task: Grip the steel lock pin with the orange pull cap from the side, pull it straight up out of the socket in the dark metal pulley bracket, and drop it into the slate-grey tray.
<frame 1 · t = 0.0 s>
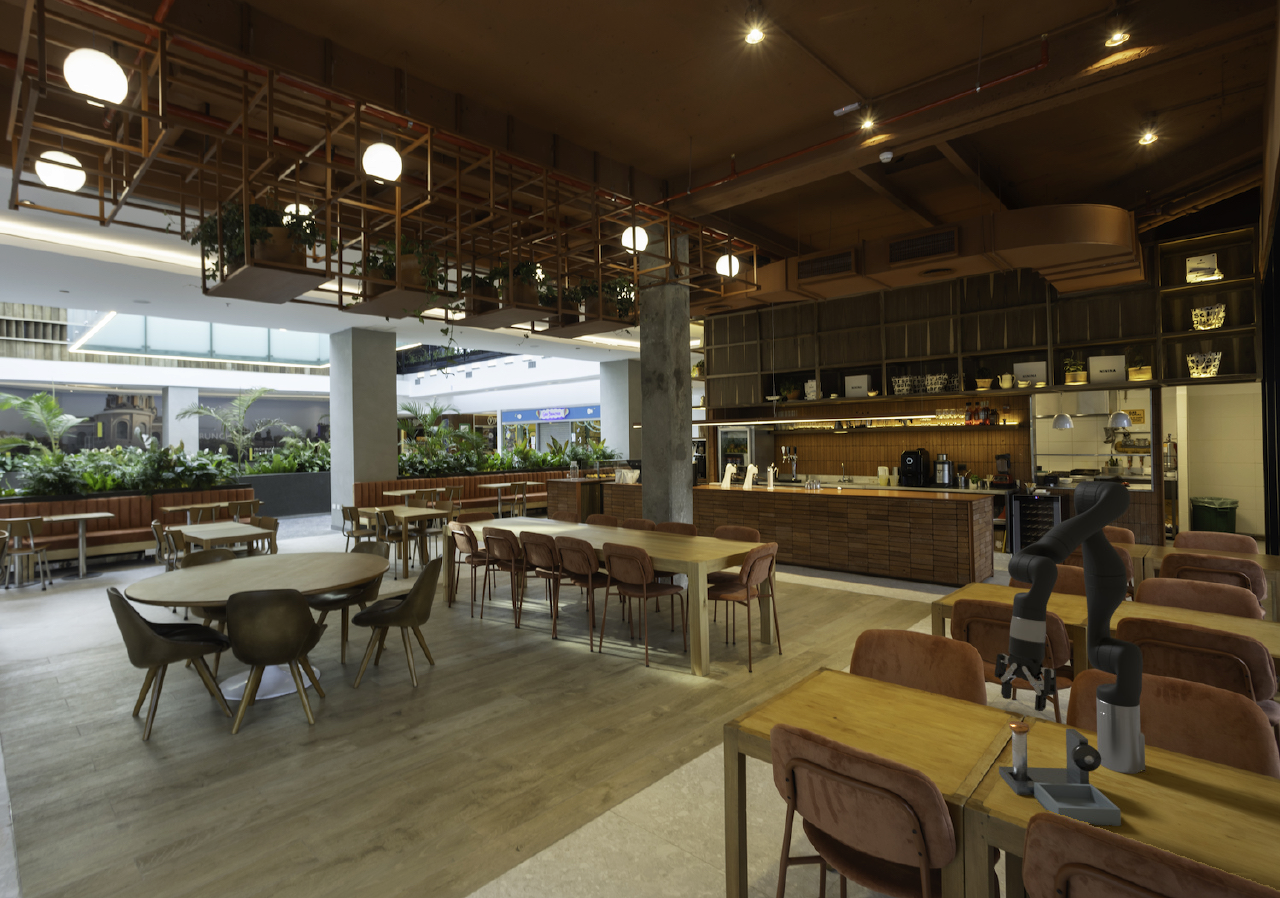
hand: (1022, 704, 158), 22 cm above the table, tool pointing down, fingers open, 8 cm apart
lock pin: (1020, 784, 163), resting in pulley bracket
tray: (1075, 811, 151), on the table
pulley bracket: (1045, 785, 162), on the table
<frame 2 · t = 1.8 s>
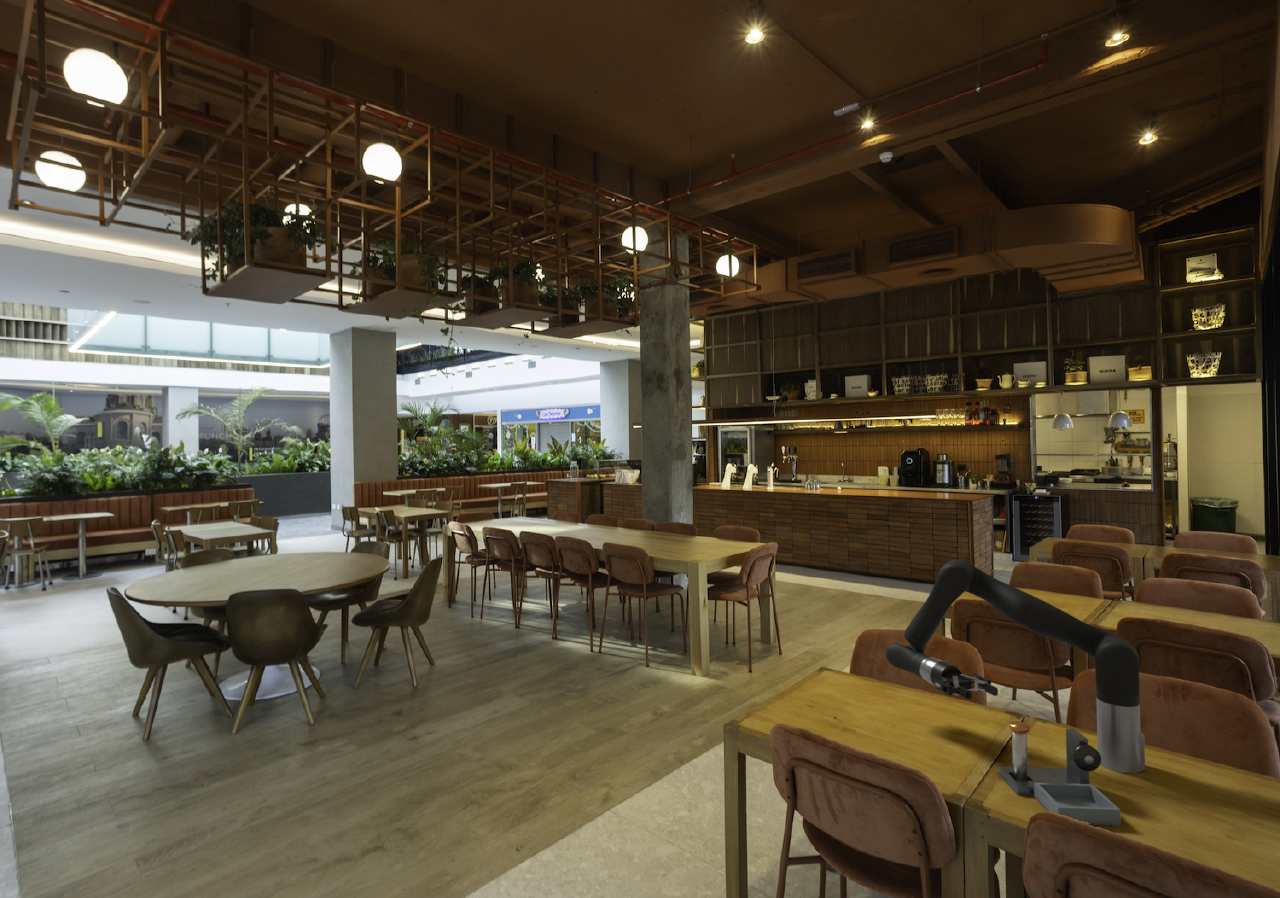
hand: (983, 694, 174), 19 cm above the table, tool horizontal, fingers open, 8 cm apart
nothing on the table moved.
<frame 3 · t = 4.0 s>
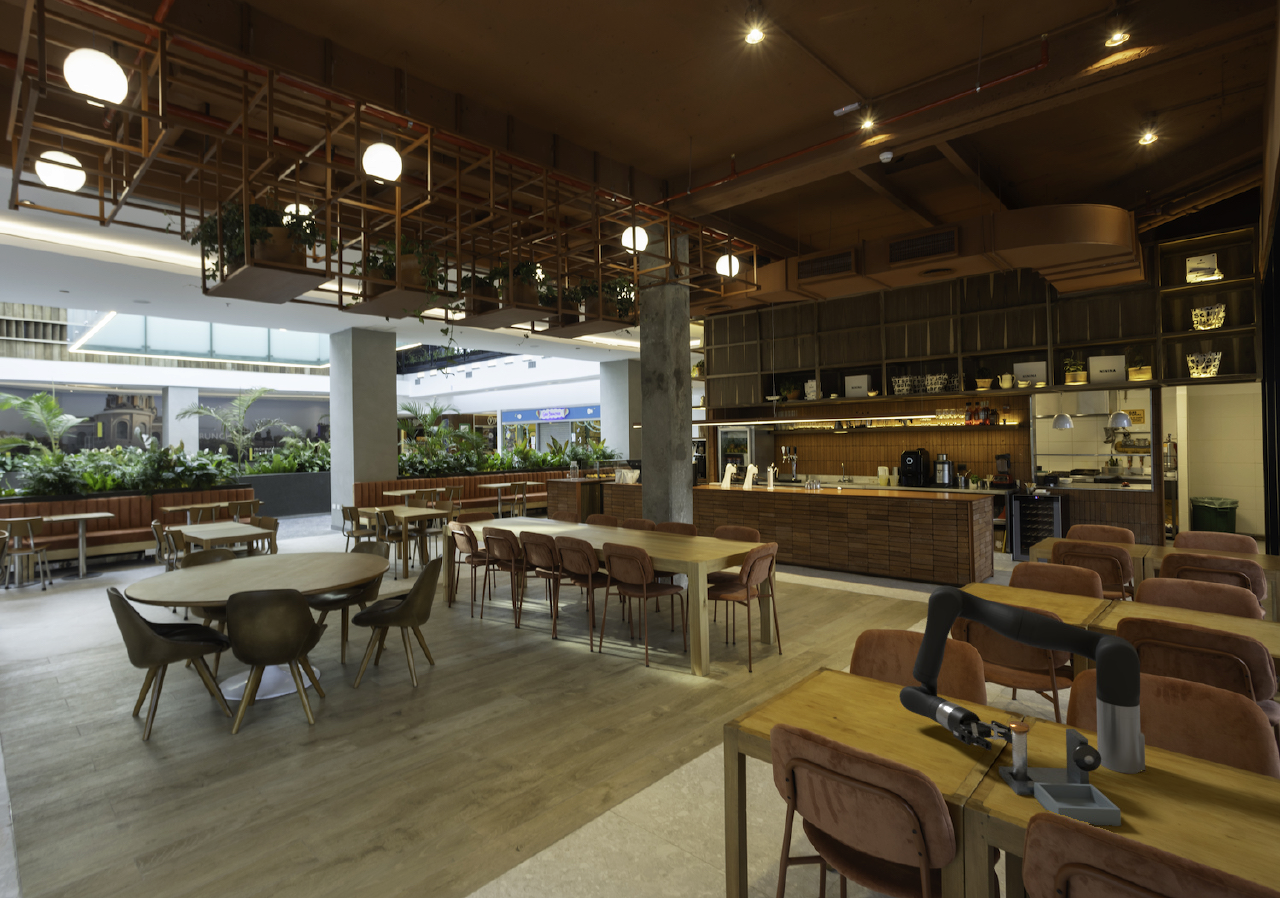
hand: (1004, 744, 168), 8 cm above the table, tool horizontal, fingers open, 8 cm apart
nothing on the table moved.
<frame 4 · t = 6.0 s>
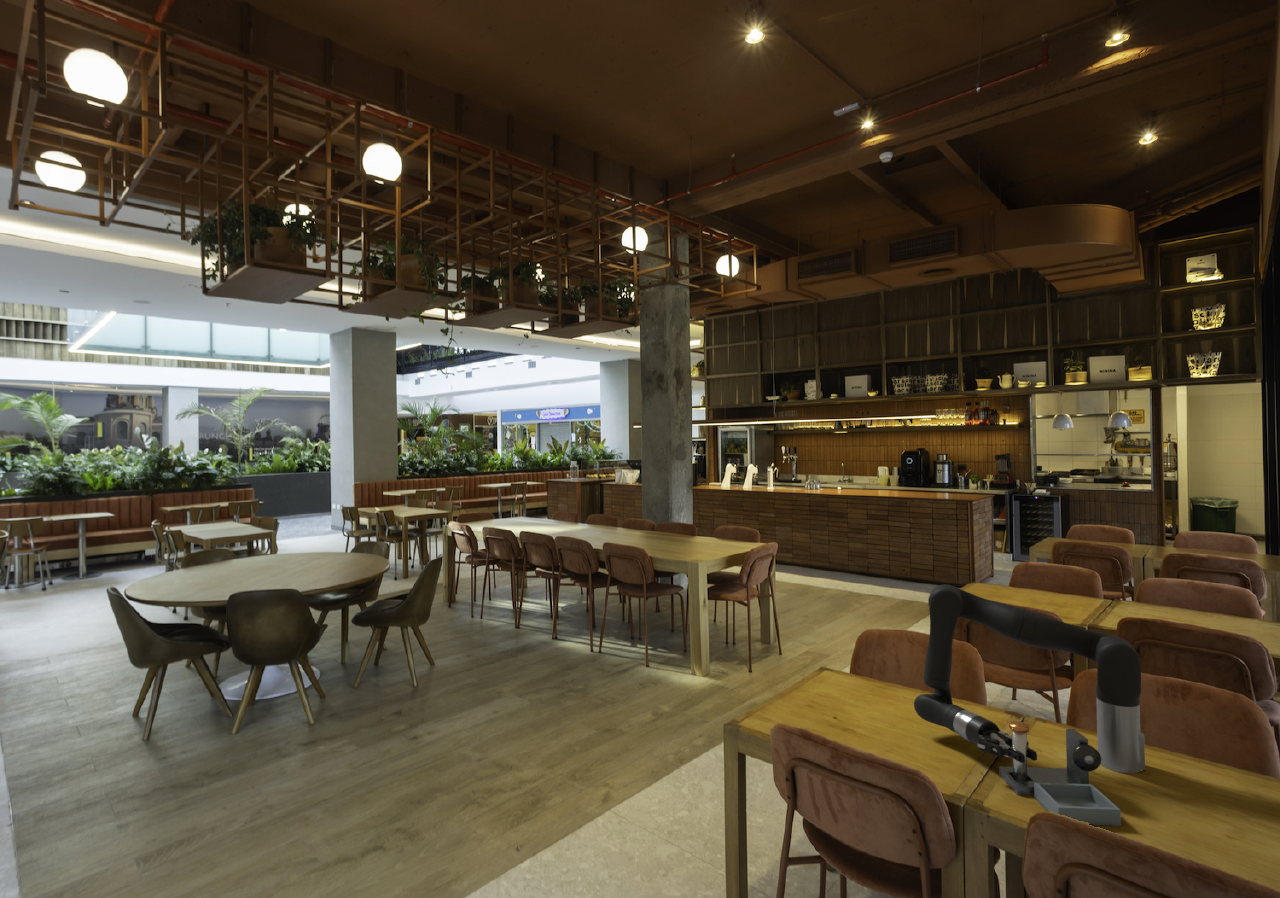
hand: (1029, 757, 160), 8 cm above the table, tool horizontal, fingers closed on lock pin, 3 cm apart
lock pin: (1020, 784, 163), resting in pulley bracket, touching gripper
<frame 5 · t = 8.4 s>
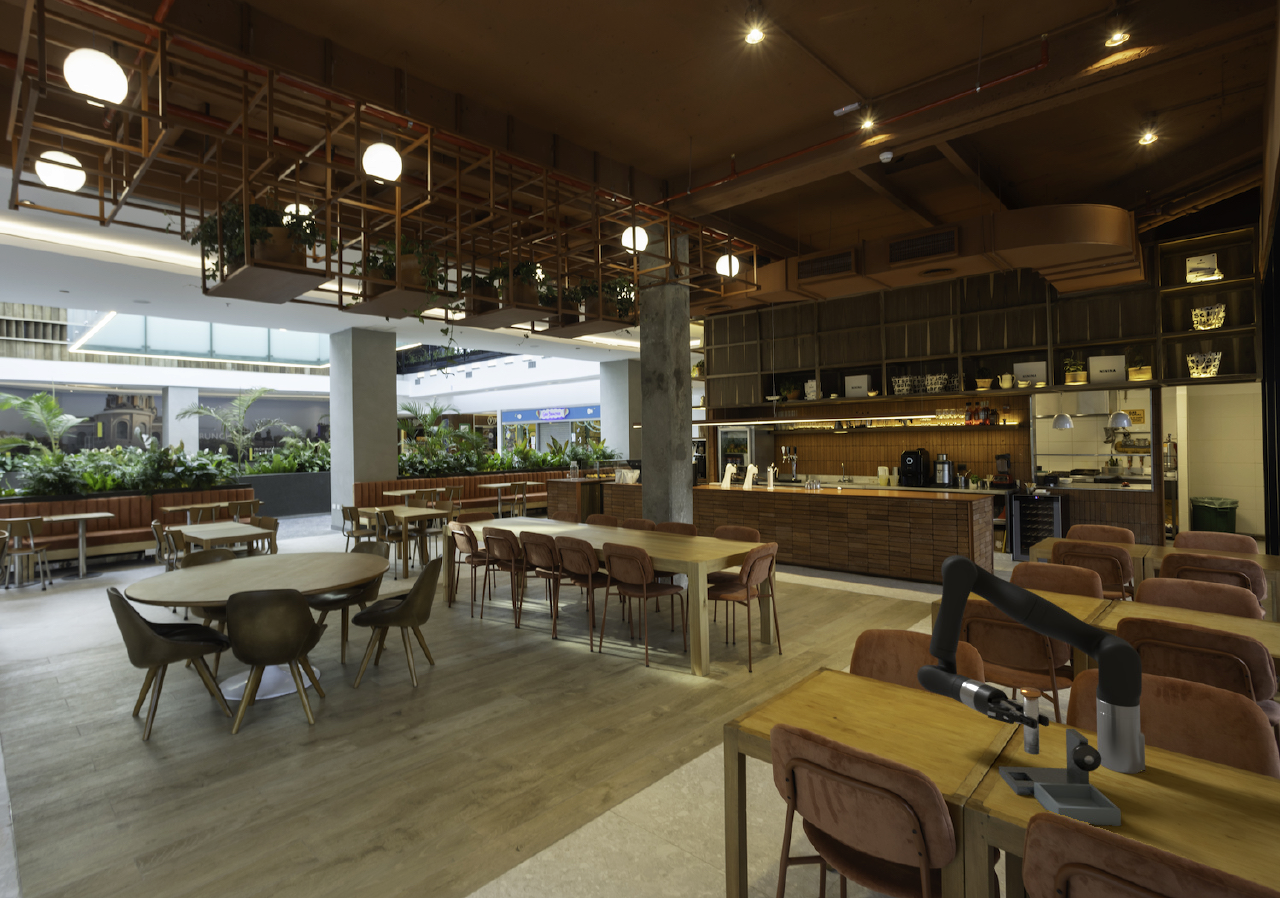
hand: (1041, 723, 157), 18 cm above the table, tool horizontal, fingers closed on lock pin, 3 cm apart
lock pin: (1031, 751, 160), point 10 cm above the table, touching gripper
when the fingers open (10 cm above the table, at t = 10.9 s): lock pin drops 1 cm, resting on tray.
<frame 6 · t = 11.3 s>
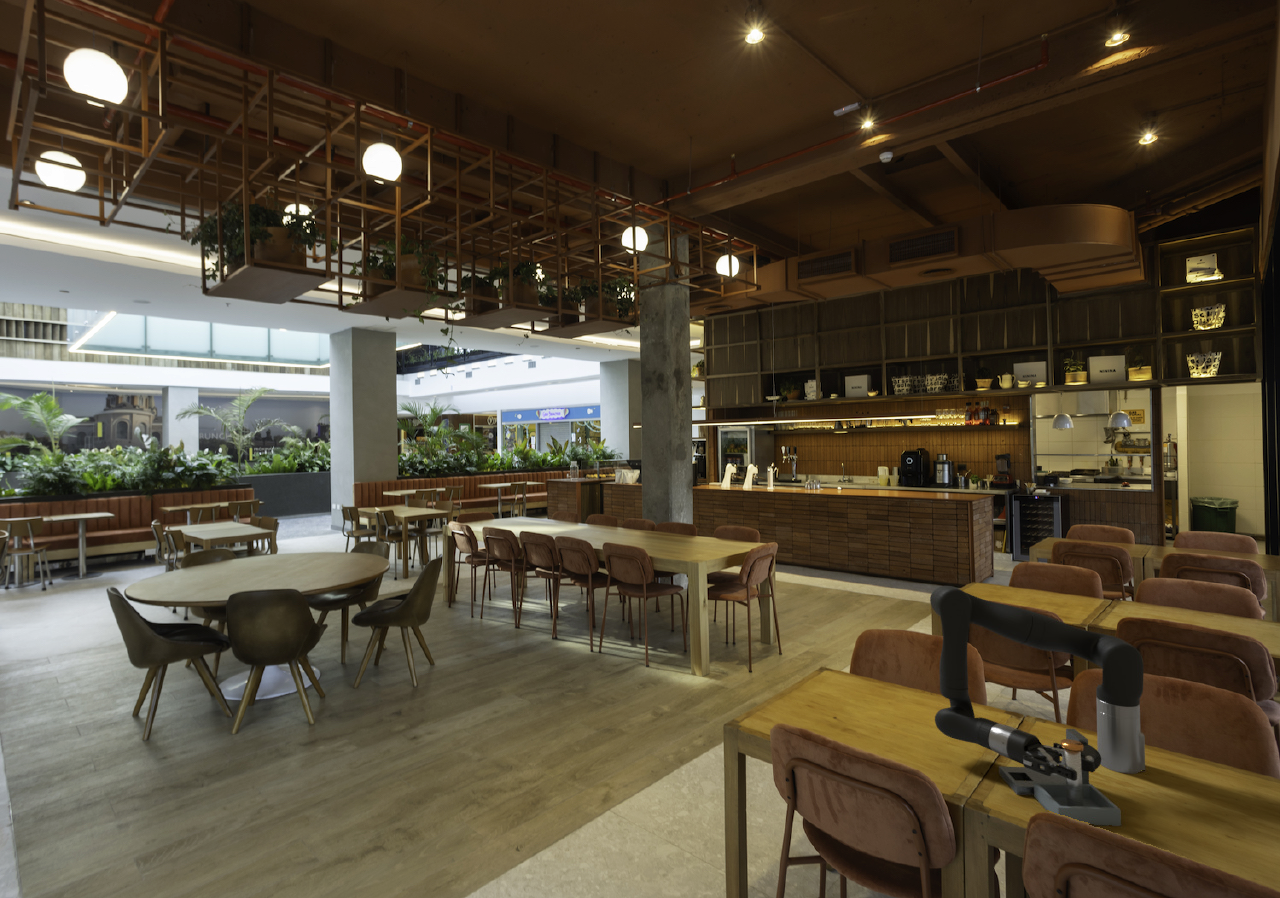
hand: (1085, 772, 149), 10 cm above the table, tool horizontal, fingers open, 7 cm apart
lock pin: (1075, 808, 151), point 1 cm above the table, touching tray
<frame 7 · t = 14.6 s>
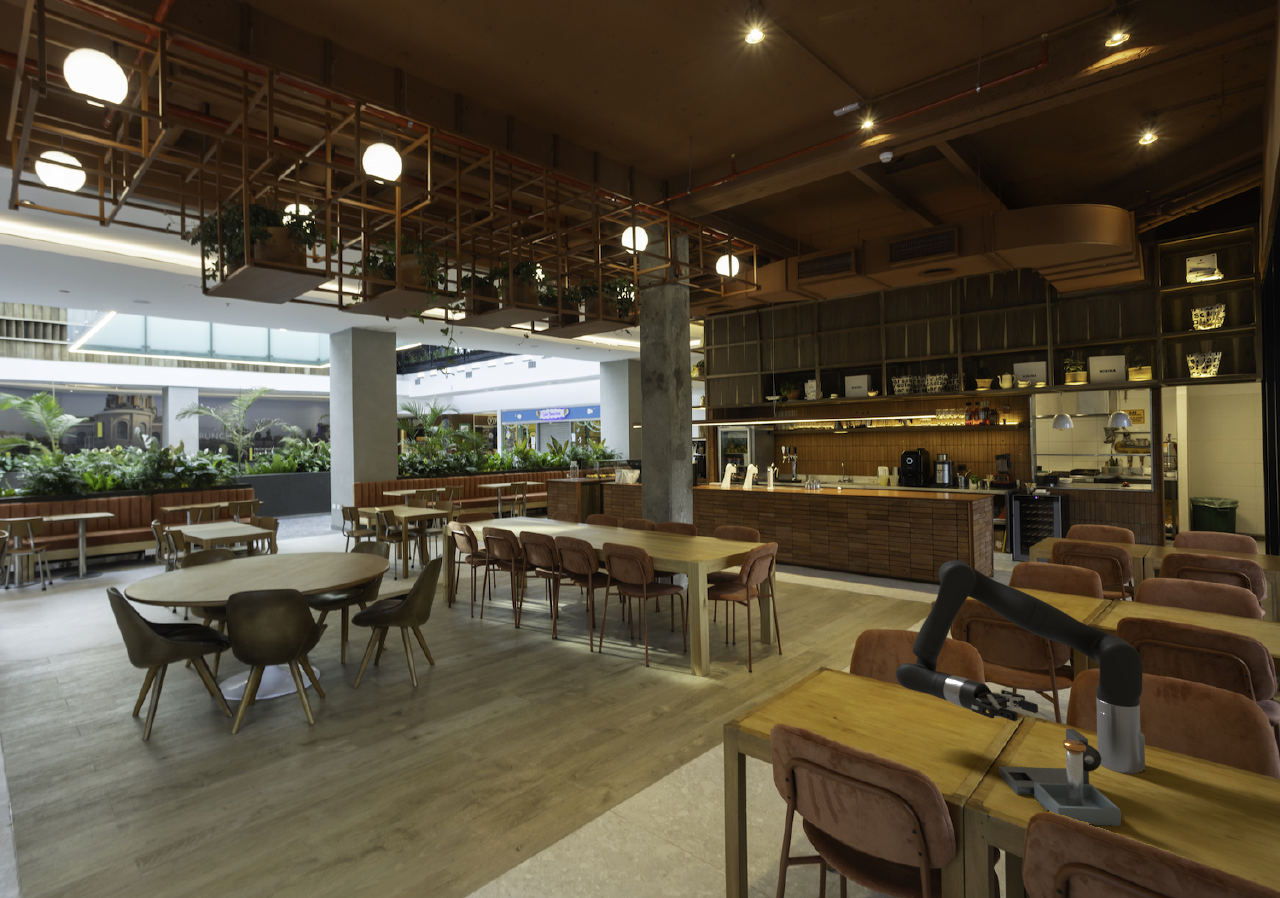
hand: (1027, 713, 160), 19 cm above the table, tool horizontal, fingers open, 8 cm apart
nothing on the table moved.
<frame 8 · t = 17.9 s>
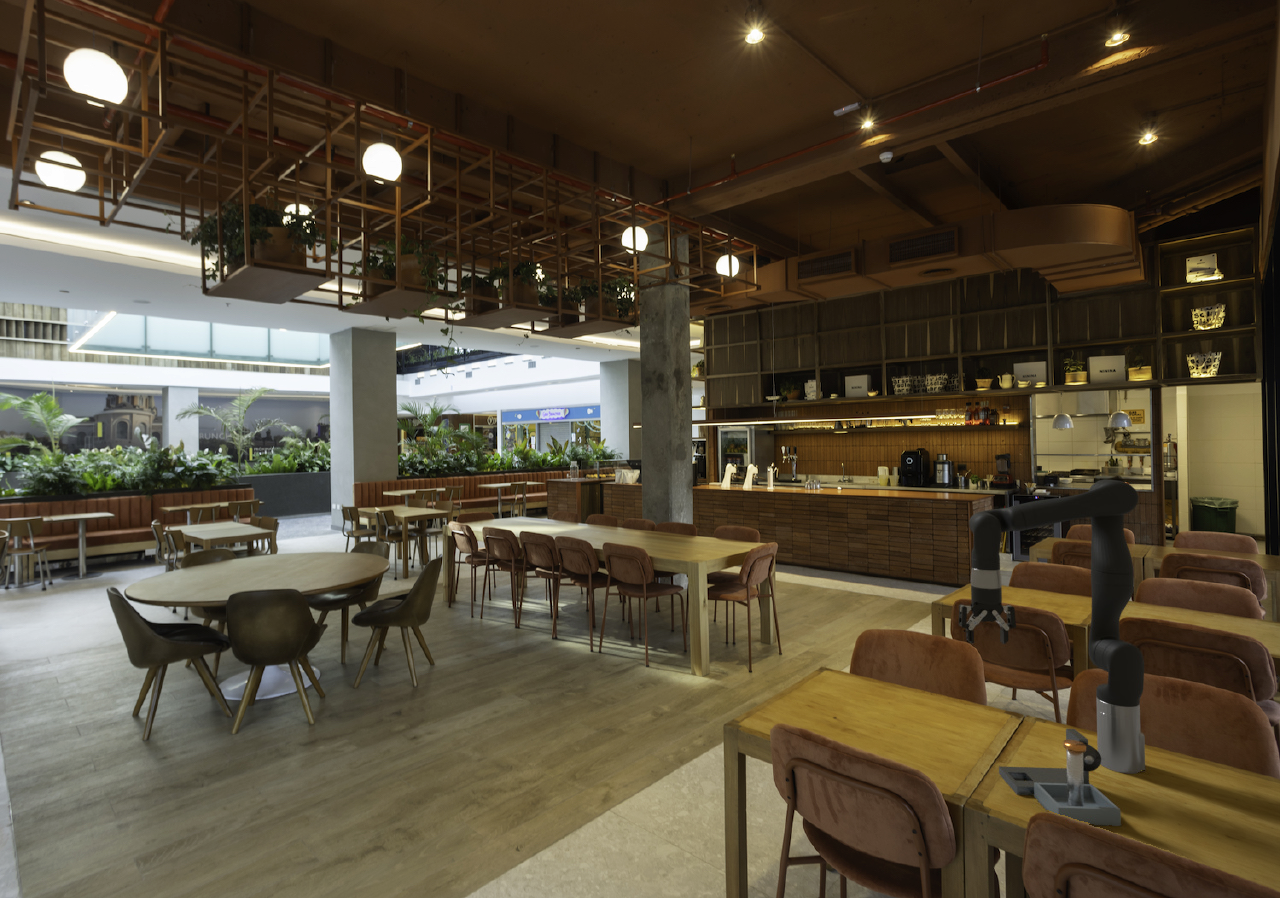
hand: (987, 642, 181), 30 cm above the table, tool pointing down, fingers open, 8 cm apart
nothing on the table moved.
at the end: lock pin inside the target area on the tray (0.1 cm from its centre), point 0.6 cm above the tray's base; the gripper is holding nothing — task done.
